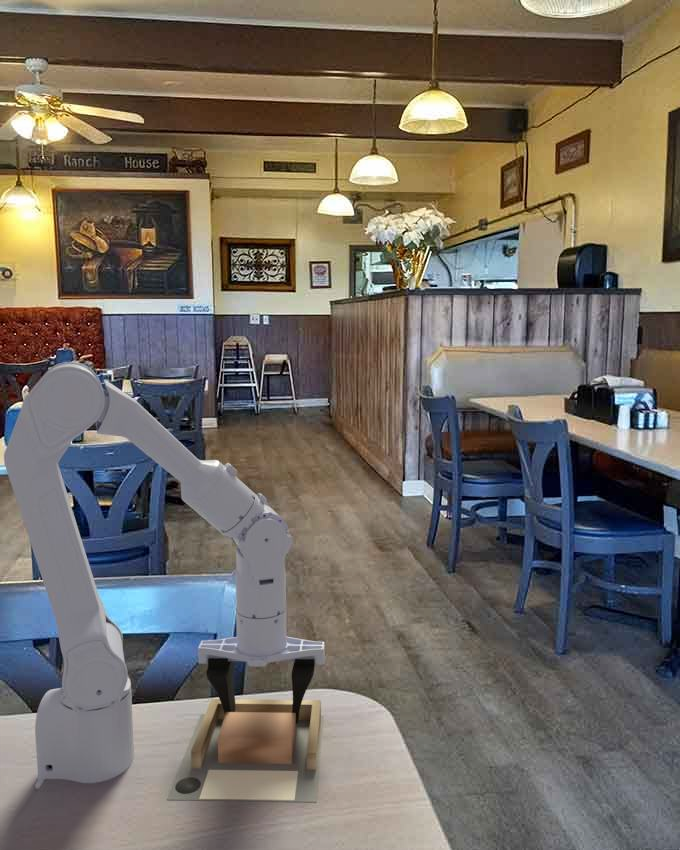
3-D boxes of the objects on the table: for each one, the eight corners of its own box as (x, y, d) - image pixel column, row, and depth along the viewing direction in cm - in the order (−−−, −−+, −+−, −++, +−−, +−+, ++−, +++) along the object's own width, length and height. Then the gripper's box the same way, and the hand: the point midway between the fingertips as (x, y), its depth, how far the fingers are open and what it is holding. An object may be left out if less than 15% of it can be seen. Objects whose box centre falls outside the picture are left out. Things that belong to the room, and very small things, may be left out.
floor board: (167, 805, 70) (167, 799, 70) (201, 718, 85) (201, 714, 85) (316, 807, 70) (316, 801, 70) (323, 720, 85) (323, 715, 85)
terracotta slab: (218, 762, 76) (217, 737, 75) (226, 736, 81) (226, 711, 80) (291, 764, 76) (291, 738, 75) (295, 737, 81) (295, 712, 80)
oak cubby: (191, 768, 75) (190, 751, 75) (211, 714, 85) (211, 699, 85) (316, 770, 75) (315, 752, 74) (321, 715, 85) (321, 700, 85)
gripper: (190, 622, 77) (194, 737, 78) (322, 624, 76) (322, 739, 78) (204, 597, 83) (207, 703, 85) (325, 598, 83) (325, 705, 85)
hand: (263, 718), depth 82 cm, fingers open, 7 cm apart
